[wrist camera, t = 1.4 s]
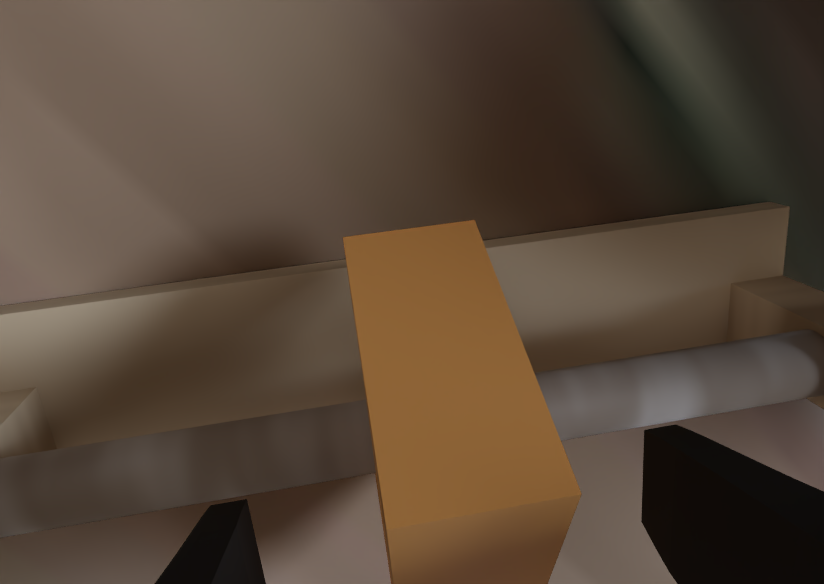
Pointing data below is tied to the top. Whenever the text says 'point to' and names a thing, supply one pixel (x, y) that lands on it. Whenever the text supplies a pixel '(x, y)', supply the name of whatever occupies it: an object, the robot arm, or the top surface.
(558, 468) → the block
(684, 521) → the robot arm
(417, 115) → the top surface
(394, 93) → the top surface
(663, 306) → the stand
